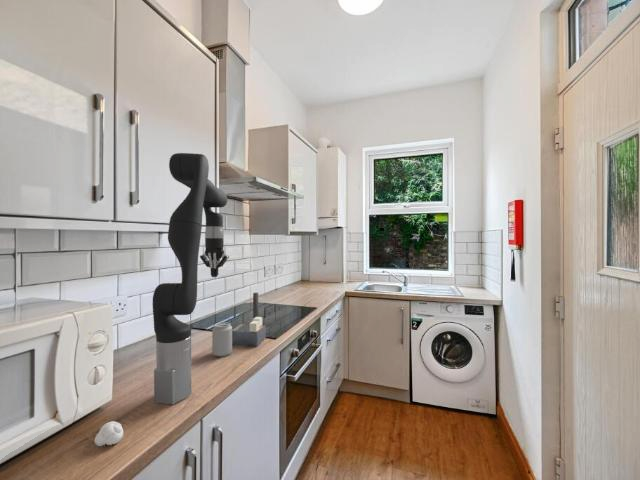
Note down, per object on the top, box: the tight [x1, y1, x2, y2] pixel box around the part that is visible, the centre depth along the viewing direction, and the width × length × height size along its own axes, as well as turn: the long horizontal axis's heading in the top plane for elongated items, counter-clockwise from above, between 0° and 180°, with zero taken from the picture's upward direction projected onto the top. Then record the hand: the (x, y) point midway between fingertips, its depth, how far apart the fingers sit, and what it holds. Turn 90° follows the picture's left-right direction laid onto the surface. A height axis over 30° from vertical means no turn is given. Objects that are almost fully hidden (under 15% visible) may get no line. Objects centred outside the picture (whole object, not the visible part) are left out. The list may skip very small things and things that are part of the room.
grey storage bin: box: [232, 323, 267, 348], centre depth 128 cm, size 10×12×6 cm
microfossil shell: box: [94, 421, 124, 447], centre depth 66 cm, size 4×5×6 cm
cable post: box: [252, 292, 259, 320], centre depth 136 cm, size 4×4×20 cm
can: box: [211, 321, 233, 358], centre depth 115 cm, size 8×8×12 cm
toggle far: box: [252, 316, 263, 327], centre depth 131 cm, size 4×3×4 cm
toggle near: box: [249, 320, 259, 332], centre depth 125 cm, size 4×3×4 cm
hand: (214, 276), depth 126 cm, fingers closed
